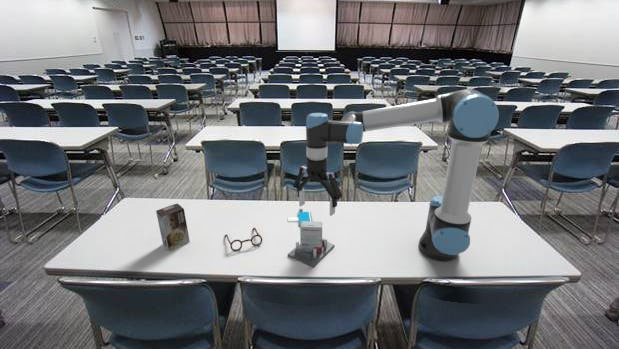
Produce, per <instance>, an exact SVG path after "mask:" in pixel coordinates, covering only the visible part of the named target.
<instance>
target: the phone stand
mask: <svg viewBox="0 0 619 349" xmlns="http://www.w3.org/2000/svg"><path fill="white" fill-rule="evenodd" d="M298 209H299V210H298V212H297V215H298V217H296V216H295V217H287V222H288V223H294V222H298V224H299V226H300V225H301V221H313V218H312V212H311V211H310V212H309V211H304V210H303V209H302V208H298Z"/></svg>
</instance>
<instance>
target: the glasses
mask: <svg viewBox="0 0 619 349" xmlns="http://www.w3.org/2000/svg"><path fill="white" fill-rule="evenodd" d="M252 231H255V235H253V236H252V237H251V239H250V238H248V239H244V240H240V239H234V240H232V241H230V238H229V237H228V236H229V235H228V234H225V235H224V237H225V238H227V241H228V243H229V245H230V246H229V247H230V249H231V251H232V252H238V251H240V250H241V249H242V248H243V243H246V242H251V245H252V246H254V247H257V246H258V247H259V246H260V245H261V244H262V243H263V238H262V236H261V235H260V233H259V232H258V230H257V229H256V227H253V228H252ZM256 237H259V238H260V242H259V243H256V244H254V242H253V240H254V238H256ZM235 242H239V243H240V246H239V247H238V248H236V249H234V248H233V244H234V243H235Z"/></svg>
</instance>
